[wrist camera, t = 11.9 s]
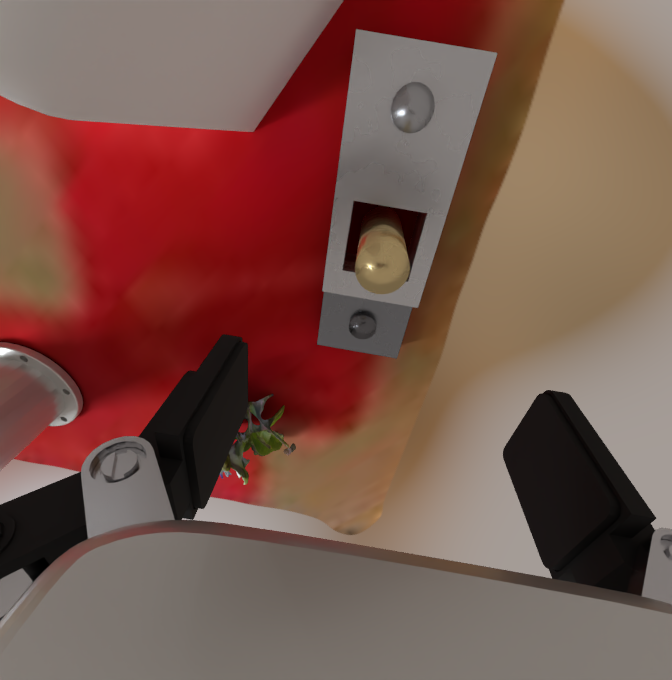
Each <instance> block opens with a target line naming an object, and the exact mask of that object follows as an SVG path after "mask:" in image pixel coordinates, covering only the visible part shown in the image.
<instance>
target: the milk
mask: <svg viewBox="0 0 672 680" xmlns="http://www.w3.org/2000/svg"><path fill="white" fill-rule="evenodd" d="M343 1H344V0H0V95H1V96H3V97H5V98H7V99H9V100H11V101H13V102H15V103H17V104H19V105H22V106H25V107H27V108H30V109H33V110H35V111H38V112H41V113H43V114H46V115H49V116H54V117H59V118H64V119H69V120H79V121H94V122H109V123H124V124H139V125H154V126H169V127H184V128H200V129H215V130H230V131H245V132H254V130H255V129H256V127H257V126H258V124H259V123H260V122H261V120H262V119H263V117H264V116H265V114H266V113H267V111H268V110H269V108H270V107H271V106H272V104H273V103H274V101H275V100H276V98H277V97H278V95H279V94H280V92H281V91H282V90H283V88H284V87H285V85H286V84H287V82H288V81H289V79H290V78H291V76H292V75H293V74H294V72H295V71H296V69H297V68H298V66H299V65H300V63H301V62H302V60H303V59H304V58H305V56H306V55H307V53H308V52H309V50H310V49H311V47H312V46H313V44H314V43H315V42H316V40H317V39H318V37H319V36H320V34H321V33H322V31H323V30H324V28H325V27H326V26H327V24H328V23H329V21H330V20H331V18H332V17H333V15H334V14H335V12H336V11H337V10H338V8H339V7H340V5H341V4H342V2H343Z"/></svg>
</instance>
